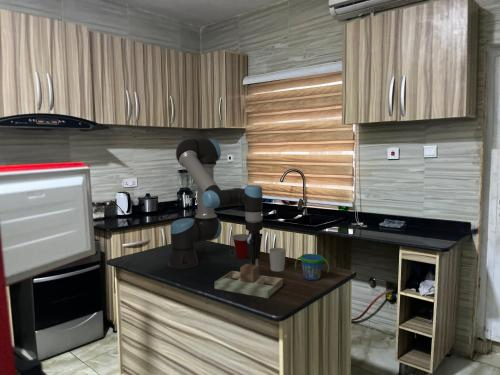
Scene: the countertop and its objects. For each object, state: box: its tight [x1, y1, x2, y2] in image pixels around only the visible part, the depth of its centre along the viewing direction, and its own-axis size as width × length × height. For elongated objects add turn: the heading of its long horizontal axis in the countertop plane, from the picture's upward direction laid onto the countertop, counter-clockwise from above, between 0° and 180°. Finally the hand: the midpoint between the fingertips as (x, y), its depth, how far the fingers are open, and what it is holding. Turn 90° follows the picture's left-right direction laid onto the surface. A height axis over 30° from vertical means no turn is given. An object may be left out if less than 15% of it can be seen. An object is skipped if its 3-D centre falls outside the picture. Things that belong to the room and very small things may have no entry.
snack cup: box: [294, 253, 330, 281], centre depth 174 cm, size 16×10×10 cm
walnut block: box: [239, 263, 260, 283], centre depth 164 cm, size 6×6×6 cm
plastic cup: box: [232, 233, 248, 260], centre depth 208 cm, size 11×11×12 cm
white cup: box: [268, 247, 286, 273], centre depth 187 cm, size 8×8×10 cm
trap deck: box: [214, 270, 284, 299], centre depth 164 cm, size 25×16×3 cm, turn 64°
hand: (254, 272), depth 169 cm, fingers closed
